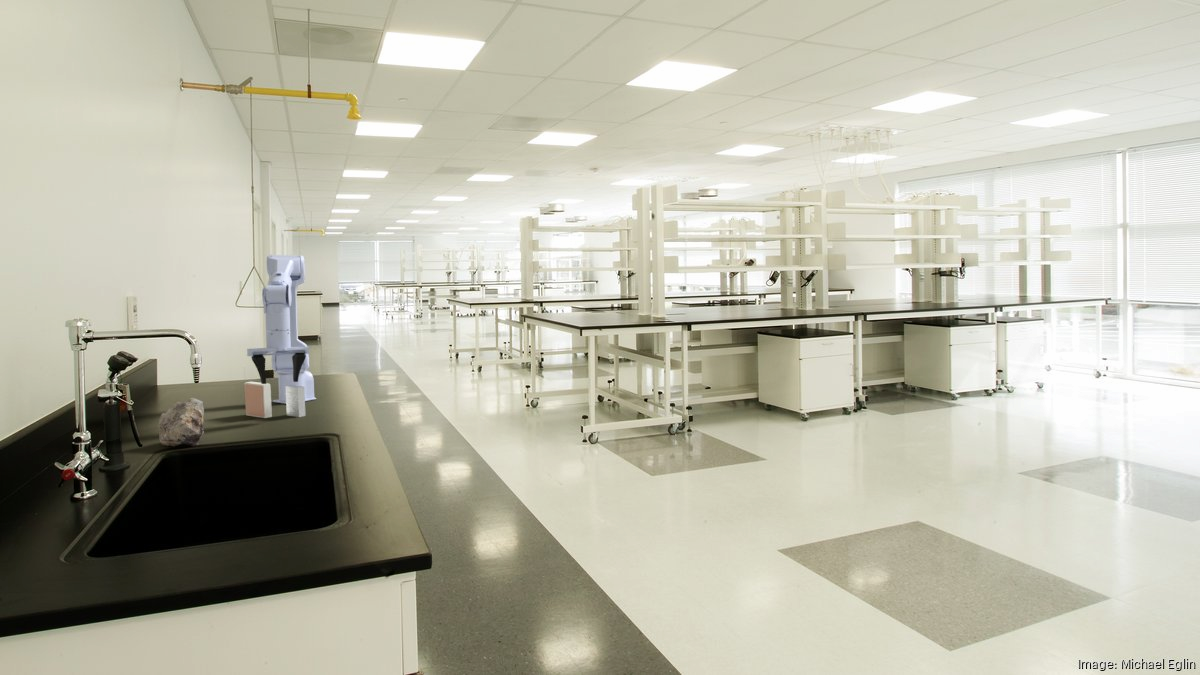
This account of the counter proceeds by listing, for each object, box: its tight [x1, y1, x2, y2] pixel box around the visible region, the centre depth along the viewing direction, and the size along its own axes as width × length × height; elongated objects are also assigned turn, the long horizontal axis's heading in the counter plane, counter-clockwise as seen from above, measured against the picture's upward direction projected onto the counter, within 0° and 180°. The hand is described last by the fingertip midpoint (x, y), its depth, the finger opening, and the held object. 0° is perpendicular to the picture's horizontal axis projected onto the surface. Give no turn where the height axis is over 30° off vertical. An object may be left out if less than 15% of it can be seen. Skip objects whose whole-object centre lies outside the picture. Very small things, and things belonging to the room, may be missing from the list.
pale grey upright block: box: [285, 385, 306, 418], centre depth 176 cm, size 2×5×8 cm, turn 63°
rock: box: [157, 397, 205, 447], centre depth 146 cm, size 9×12×10 cm
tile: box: [244, 381, 273, 419], centre depth 175 cm, size 2×8×9 cm, turn 62°
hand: (279, 382), depth 170 cm, fingers open, 7 cm apart
